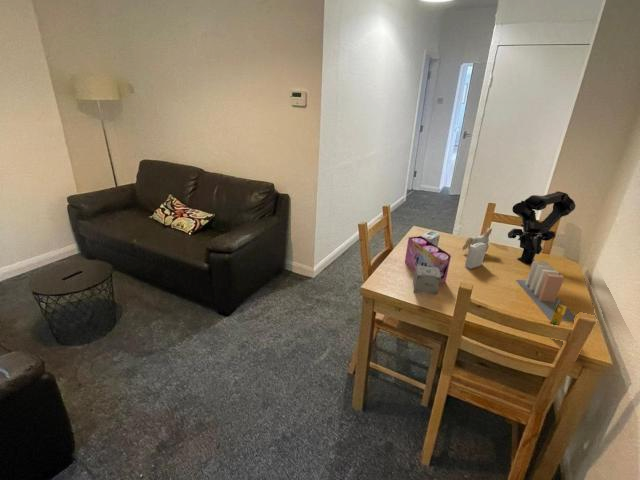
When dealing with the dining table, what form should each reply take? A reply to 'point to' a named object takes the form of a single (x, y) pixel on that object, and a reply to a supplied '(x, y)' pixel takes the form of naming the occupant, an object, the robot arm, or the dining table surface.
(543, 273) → the domino
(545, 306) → the mat
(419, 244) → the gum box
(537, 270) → the domino
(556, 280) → the domino
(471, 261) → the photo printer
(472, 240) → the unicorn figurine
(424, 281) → the grey cardboard box
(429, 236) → the light bulb box
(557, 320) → the crayon box
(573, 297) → the dining table surface
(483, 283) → the dining table surface
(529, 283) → the domino
